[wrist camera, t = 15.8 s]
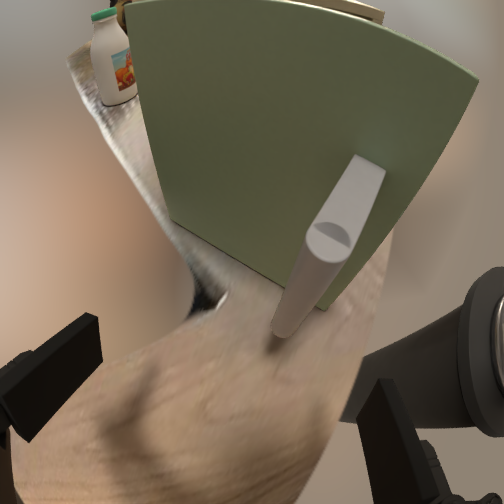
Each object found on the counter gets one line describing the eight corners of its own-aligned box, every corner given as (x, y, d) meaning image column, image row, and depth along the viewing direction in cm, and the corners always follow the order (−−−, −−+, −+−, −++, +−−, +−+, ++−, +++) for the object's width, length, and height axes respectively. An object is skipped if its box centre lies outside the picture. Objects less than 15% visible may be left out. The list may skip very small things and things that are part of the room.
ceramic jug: (136, 28, 83) (131, -24, 58) (148, 30, 78) (143, -29, 52) (101, 40, 77) (93, -14, 52) (110, 43, 72) (101, -18, 46)
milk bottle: (108, 110, 41) (86, 17, 23) (98, 100, 43) (79, 18, 26) (144, 94, 43) (130, 2, 26) (131, 85, 46) (117, 4, 29)
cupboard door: (292, 367, 21) (523, 155, 2) (132, 258, 25) (35, 42, 7) (329, 303, 24) (476, 74, 6) (176, 212, 29) (136, 1, 10)
